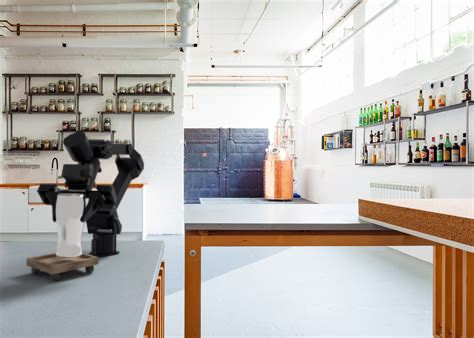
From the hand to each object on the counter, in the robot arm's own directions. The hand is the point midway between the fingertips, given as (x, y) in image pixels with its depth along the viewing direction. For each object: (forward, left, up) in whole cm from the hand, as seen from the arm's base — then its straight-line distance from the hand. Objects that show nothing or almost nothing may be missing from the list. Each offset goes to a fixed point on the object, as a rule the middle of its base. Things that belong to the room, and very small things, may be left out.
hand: (68, 221), depth 96 cm
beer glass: (-1, -1, -9) cm, 9 cm away
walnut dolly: (0, -3, -13) cm, 14 cm away
